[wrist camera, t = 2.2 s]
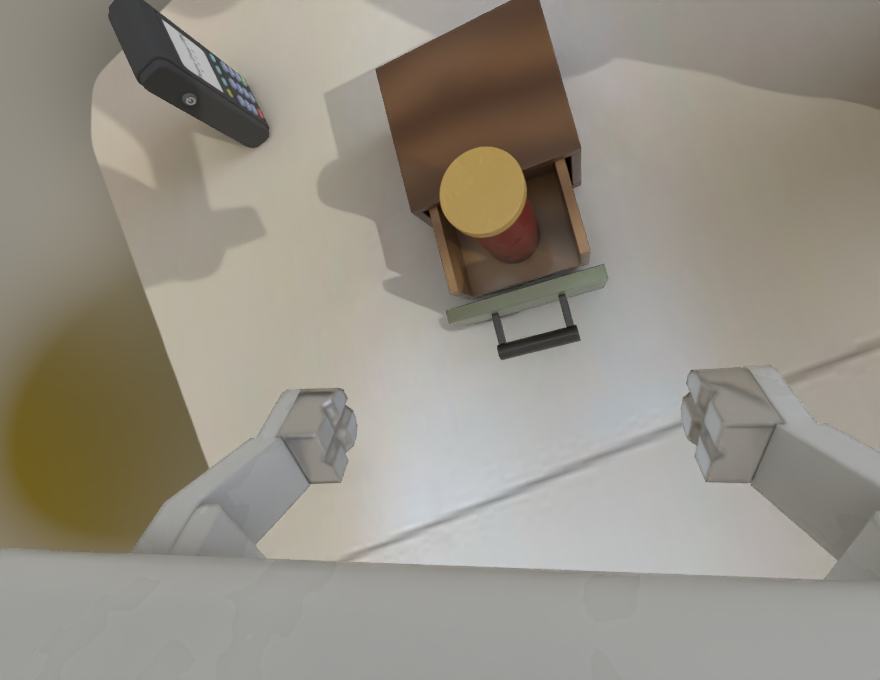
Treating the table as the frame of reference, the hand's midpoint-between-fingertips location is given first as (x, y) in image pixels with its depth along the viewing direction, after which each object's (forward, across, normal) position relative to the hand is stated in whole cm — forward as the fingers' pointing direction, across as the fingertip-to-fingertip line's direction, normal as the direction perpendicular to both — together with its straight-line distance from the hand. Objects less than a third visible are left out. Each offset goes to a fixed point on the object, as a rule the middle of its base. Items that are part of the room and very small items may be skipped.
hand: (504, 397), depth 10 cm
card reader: (+49, +31, -2) cm, 58 cm away
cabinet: (+40, +2, +4) cm, 40 cm away
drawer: (+31, 0, +13) cm, 34 cm away
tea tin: (+32, 0, +10) cm, 33 cm away
